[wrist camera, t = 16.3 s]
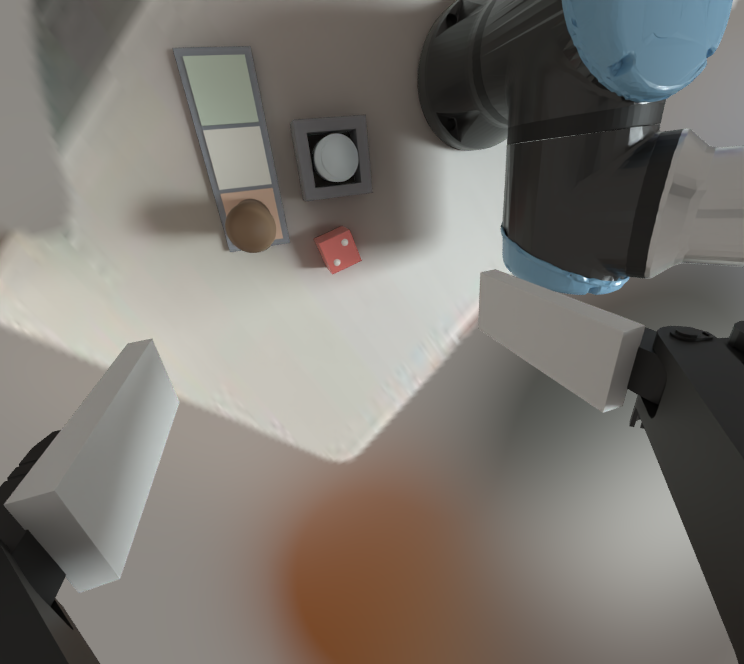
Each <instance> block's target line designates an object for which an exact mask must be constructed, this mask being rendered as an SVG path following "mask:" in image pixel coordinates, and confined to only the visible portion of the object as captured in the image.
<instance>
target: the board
mask: <svg viewBox="0 0 744 664" xmlns="http://www.w3.org/2000/svg"><path fill="white" fill-rule="evenodd" d="M173 52H174V55H175V59H176V62H177V66H178V69H179V73H180V76H181V80H182V83H183V87H184V91H185V94H186V98H187V101H188V105H189V108H190V112H191V115H192V119H193V122H194V126H195V130H196V133H197V137H198V140H199V144H200V147H201V151H202V154H203V158H204V161H205V165H206V169H207V172H208V176H209V179H210V183H211V186H212V190H213V193H214V197H215V200H216V204H217V208H218V211H219V215H220V218H221V222H222V225H223V229H224V232H225V236H226V239H227V243H228V247H229V250H230V252H234V251H241V250H240V249H239V248H237V247H236V246H235V245H234V244H233V243H232V242H231V241H230V239H229V238H228V236H227V233H226V229H225V222H226V217H227V215H228V213H229V212H230V210H231V209H232V208H233V207H235V206H236V205H238V204H239V203H240V202H241V201H243V200H246V199H256V200H259V201H261V202H262V203H263V204H265V205H266V207H267V208H268V209H269V211H270V213H271V215H272V216H273V218H274V220H275V223H276V237H275V239H274V242H273V243H272V244H271V246H273V245H279V244H286V243H290V240H289V235H288V230H287V226H286V221H285V216H284V211H283V206H282V201H281V196H280V191H279V186H278V181H277V176H276V171H275V166H274V161H273V156H272V151H271V146H270V141H269V136H268V131H267V126H266V121H265V117H264V112H263V107H262V102H261V97H260V92H259V87H258V82H257V77H256V72H255V67H254V62H253V57H252V52H251V47H250V46H238V47H190V48H173Z"/></svg>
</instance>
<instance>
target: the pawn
mask: <svg viewBox="0 0 744 664" xmlns="http://www.w3.org/2000/svg"><path fill="white" fill-rule="evenodd" d="M225 229H226V233H227V236H228V238H229V239H230V241H231V242H232V243H233V244H234V245H235V246H236V247H237V248H239V249H240V250H242V251H245V252H249V253H257V252H261V251H264V250H266V249H267V248H269V247H270V246H271V244H272V243H273V242H274V239H275V237H276V223H275V220H274V218H273V216H272V215H271V213H270V211H269V209H268V208H267V207H266V205H265V204H263V203H262V202H261V201H259V200H256V199H246V200H243V201H241V202H240V203H239V204H238V205H236V206H235V207H233V208H232V209H231V210H230V212H229V213H228V215H227V217H226V222H225Z"/></svg>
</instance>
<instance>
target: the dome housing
mask: <svg viewBox="0 0 744 664" xmlns="http://www.w3.org/2000/svg"><path fill="white" fill-rule="evenodd" d="M290 126H291V132H292V138H293V143H294V149H295V155H296V161H297V166H298V172H299V178H300V183H301V189H302V195H303V200H305V201H311V200H319V199H327V198H335V197H343V196H350V195H358V194H366V193H373V192H372V181H371V170H370V159H369V148H368V137H367V126H366V115H355V116H341V117H327V118H313V119H299V120H292V122H291V124H290ZM342 132H349V133H350V140H351V141H352V142H353V143H354V145H355V147H356V149H357V152H358V166H357V169H356V171H355V173H354V178H355V183H347V184H338V185H330V186H322V187H315V183H314V176H313V170H312V164H311V157H310V151H309V145H308V138H307V135H318V134H330V133H342Z"/></svg>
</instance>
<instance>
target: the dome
mask: <svg viewBox="0 0 744 664" xmlns="http://www.w3.org/2000/svg"><path fill="white" fill-rule="evenodd" d="M312 164H313V167H314V169H315V171H316V173H317V174H318V175H319V176H320V177H321V178H323V179H324V180H327V181H331V182H342V181H345V180H347V179H349V178H350V177H351V176H353V174H354V173H355V171H356V169H357V166H358V152H357V149H356V147H355V145H354V143H353V142H352V141H351V140H350V139H349V138H348V137H346V136H345V135H342V134H330V135H328V136H326V137H324V138H323V139H321V140H320V141H318V142H317V144H316V145H315V147H314V149H313V152H312Z"/></svg>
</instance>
